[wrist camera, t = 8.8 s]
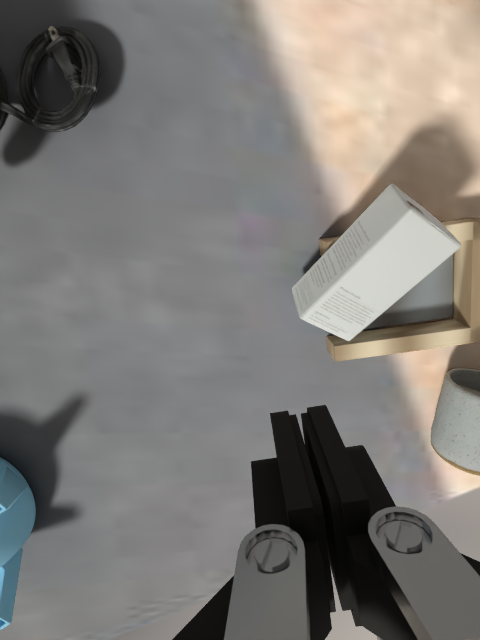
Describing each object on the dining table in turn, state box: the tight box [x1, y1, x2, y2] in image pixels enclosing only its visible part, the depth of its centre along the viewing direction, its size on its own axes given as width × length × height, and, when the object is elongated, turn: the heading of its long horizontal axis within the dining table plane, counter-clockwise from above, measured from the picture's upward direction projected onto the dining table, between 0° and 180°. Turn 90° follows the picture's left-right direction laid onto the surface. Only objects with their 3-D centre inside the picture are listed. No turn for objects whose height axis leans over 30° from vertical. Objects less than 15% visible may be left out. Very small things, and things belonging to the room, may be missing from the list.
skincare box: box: [292, 184, 461, 341], centre depth 33 cm, size 6×4×12 cm
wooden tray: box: [319, 218, 480, 362], centre depth 37 cm, size 14×11×3 cm
